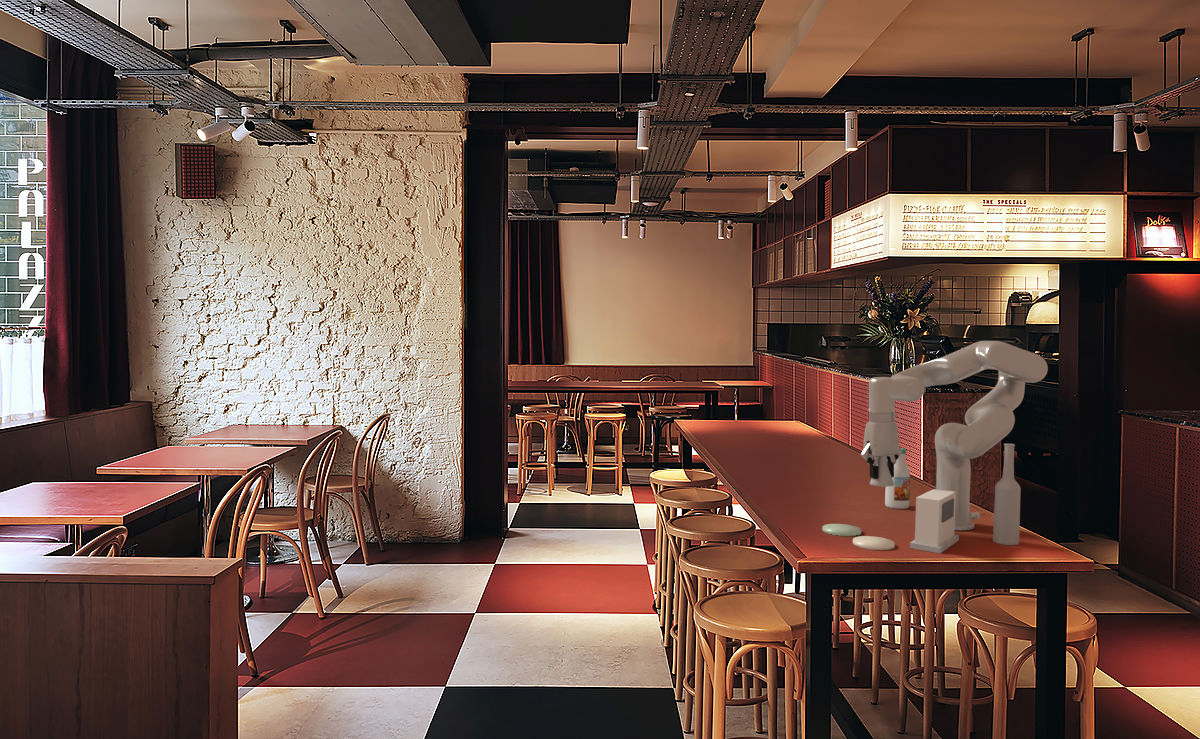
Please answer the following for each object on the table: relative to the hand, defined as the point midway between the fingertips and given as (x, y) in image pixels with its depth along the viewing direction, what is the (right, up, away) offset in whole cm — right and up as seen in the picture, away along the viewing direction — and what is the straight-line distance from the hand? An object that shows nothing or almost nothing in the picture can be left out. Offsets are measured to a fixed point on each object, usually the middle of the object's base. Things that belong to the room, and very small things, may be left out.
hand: (881, 476), depth 244 cm
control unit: (+8, -16, -19) cm, 26 cm away
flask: (0, -3, 0) cm, 3 cm away
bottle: (+29, -17, -16) cm, 37 cm away
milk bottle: (+15, -14, +28) cm, 35 cm away
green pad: (-14, -15, -7) cm, 22 cm away
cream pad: (-10, -16, -21) cm, 28 cm away
